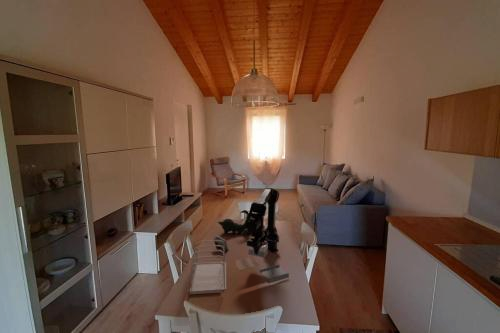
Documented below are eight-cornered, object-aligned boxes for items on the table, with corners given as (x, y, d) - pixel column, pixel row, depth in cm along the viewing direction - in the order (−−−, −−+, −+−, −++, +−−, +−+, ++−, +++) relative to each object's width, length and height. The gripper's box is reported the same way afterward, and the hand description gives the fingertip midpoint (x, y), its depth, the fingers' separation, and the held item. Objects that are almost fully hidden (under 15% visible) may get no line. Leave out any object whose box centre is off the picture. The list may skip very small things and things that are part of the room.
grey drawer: (252, 249, 138) (252, 238, 137) (267, 252, 135) (267, 241, 134) (248, 254, 133) (248, 242, 132) (264, 257, 130) (264, 245, 129)
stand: (251, 259, 147) (251, 256, 147) (258, 267, 138) (258, 265, 138) (232, 263, 142) (232, 261, 142) (239, 272, 133) (239, 270, 133)
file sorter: (226, 292, 117) (225, 262, 115) (189, 295, 115) (188, 264, 113) (225, 264, 142) (225, 239, 139) (195, 266, 140) (194, 240, 137)
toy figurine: (249, 231, 190) (217, 230, 187) (251, 208, 187) (219, 206, 184) (250, 237, 181) (216, 235, 178) (252, 212, 178) (218, 210, 175)
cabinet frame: (278, 267, 138) (278, 263, 137) (288, 277, 129) (288, 273, 128) (259, 273, 133) (259, 268, 132) (268, 283, 124) (269, 278, 123)
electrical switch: (229, 252, 155) (228, 238, 153) (223, 255, 152) (221, 242, 150) (220, 247, 162) (219, 234, 160) (214, 250, 159) (212, 237, 157)
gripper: (251, 217, 143) (251, 241, 145) (237, 228, 126) (237, 256, 128) (269, 219, 139) (269, 245, 141) (257, 232, 122) (257, 261, 124)
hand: (258, 251), depth 134 cm, fingers closed on grey drawer, 5 cm apart
